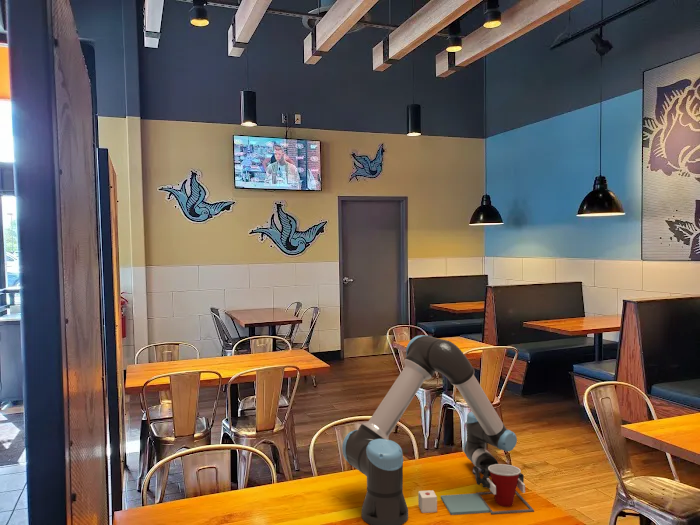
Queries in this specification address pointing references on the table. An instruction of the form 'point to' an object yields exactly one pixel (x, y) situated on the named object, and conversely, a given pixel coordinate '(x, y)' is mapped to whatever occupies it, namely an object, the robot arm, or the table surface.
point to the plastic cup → (504, 482)
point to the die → (427, 501)
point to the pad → (464, 504)
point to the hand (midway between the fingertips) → (509, 489)
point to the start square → (506, 511)
